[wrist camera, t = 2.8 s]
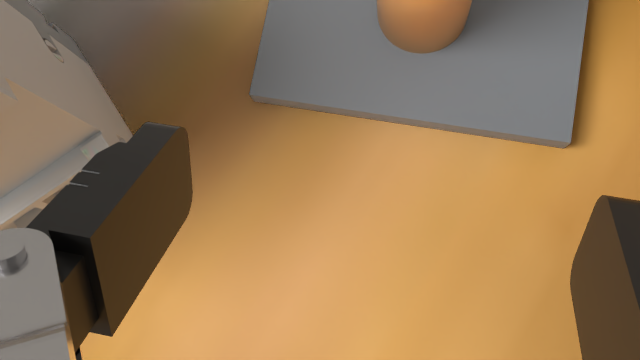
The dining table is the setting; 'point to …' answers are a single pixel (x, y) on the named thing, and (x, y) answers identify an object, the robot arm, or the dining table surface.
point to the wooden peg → (422, 23)
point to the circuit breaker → (46, 113)
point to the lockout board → (429, 68)
